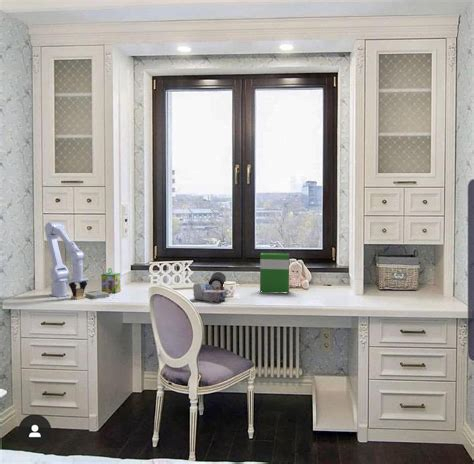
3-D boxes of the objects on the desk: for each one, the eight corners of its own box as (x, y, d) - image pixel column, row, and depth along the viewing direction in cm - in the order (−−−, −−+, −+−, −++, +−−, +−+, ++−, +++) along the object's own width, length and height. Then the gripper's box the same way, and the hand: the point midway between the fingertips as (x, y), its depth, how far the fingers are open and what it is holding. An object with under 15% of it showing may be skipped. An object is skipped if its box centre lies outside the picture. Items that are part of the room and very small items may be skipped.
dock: (85, 296, 346) (85, 293, 346) (99, 294, 353) (99, 291, 353) (94, 298, 339) (94, 295, 339) (109, 296, 346) (109, 293, 346)
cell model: (198, 279, 347) (230, 281, 341) (198, 297, 347) (230, 300, 342) (190, 282, 334) (223, 285, 328) (190, 301, 335) (223, 304, 329)
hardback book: (288, 291, 369) (289, 253, 367) (288, 293, 362) (288, 255, 360) (261, 290, 371) (261, 253, 369) (260, 292, 364) (260, 254, 362)
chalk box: (115, 293, 357) (114, 269, 356) (101, 292, 359) (100, 269, 358) (121, 290, 366) (120, 267, 365) (107, 290, 368) (107, 267, 367)
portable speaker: (223, 293, 361) (224, 277, 360) (207, 293, 361) (208, 277, 360) (226, 286, 386) (226, 271, 386) (211, 286, 387) (211, 271, 386)
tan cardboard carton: (71, 298, 341) (71, 288, 341) (78, 297, 345) (78, 287, 344) (77, 299, 336) (77, 290, 336) (85, 298, 340) (85, 289, 339)
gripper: (70, 273, 331) (70, 297, 332) (92, 271, 342) (92, 294, 343) (63, 272, 336) (64, 295, 337) (85, 270, 347) (86, 292, 348)
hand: (78, 295), depth 340 cm, fingers closed on tan cardboard carton, 4 cm apart
